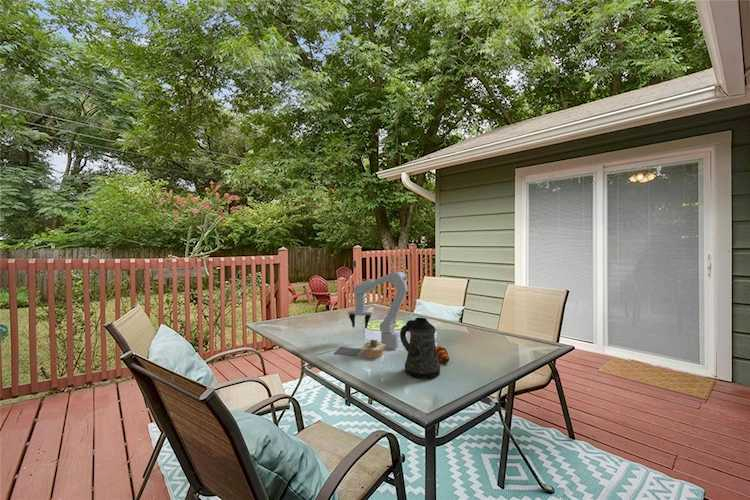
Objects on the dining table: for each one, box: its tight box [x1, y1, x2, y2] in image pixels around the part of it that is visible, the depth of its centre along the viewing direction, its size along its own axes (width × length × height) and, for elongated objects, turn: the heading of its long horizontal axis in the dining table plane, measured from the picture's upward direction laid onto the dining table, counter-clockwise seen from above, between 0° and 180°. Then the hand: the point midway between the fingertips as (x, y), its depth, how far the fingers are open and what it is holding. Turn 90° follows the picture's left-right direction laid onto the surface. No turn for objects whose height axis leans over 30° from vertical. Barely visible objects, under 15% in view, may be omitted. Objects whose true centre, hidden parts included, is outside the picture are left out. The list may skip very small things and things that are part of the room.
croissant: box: [435, 345, 450, 363], centre depth 179 cm, size 21×10×8 cm, turn 20°
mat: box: [332, 346, 362, 358], centre depth 186 cm, size 13×13×1 cm
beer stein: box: [399, 317, 441, 380], centre depth 158 cm, size 16×19×25 cm
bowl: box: [364, 349, 384, 359], centre depth 181 cm, size 9×9×4 cm
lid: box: [360, 339, 386, 353], centre depth 181 cm, size 11×11×4 cm
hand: (359, 327), depth 202 cm, fingers open, 7 cm apart
